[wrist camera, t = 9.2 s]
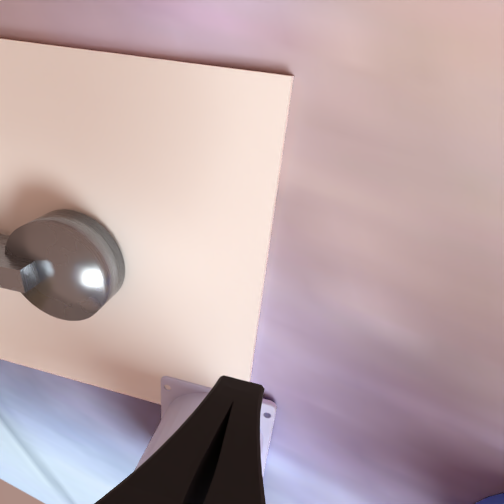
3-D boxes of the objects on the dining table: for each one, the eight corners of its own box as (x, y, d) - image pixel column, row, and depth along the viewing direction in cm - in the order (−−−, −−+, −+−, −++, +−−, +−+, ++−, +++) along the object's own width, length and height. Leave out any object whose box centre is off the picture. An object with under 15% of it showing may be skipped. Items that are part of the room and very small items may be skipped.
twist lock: (121, 219, 20) (84, 244, 18) (128, 309, 23) (98, 343, 20) (-78, 183, 23) (-139, 200, 20) (-49, 269, 25) (-99, 295, 23)
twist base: (244, 422, 26) (242, 429, 26) (-25, 346, 30) (-32, 351, 29) (294, 75, 16) (292, 76, 15) (-126, 22, 20) (-139, 21, 19)
